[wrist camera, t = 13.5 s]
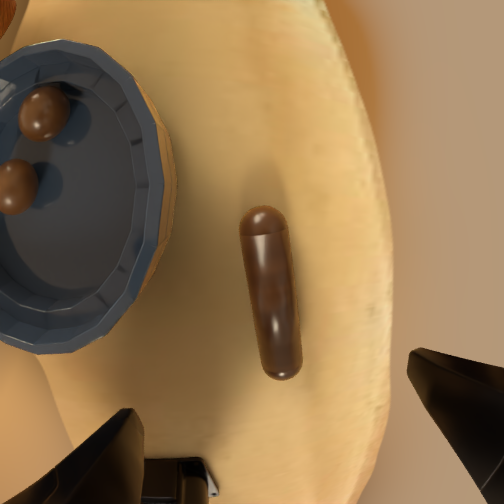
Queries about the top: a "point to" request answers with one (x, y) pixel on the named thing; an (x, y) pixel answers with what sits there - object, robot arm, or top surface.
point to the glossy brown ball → (17, 186)
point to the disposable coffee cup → (6, 14)
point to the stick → (272, 290)
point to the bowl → (81, 200)
